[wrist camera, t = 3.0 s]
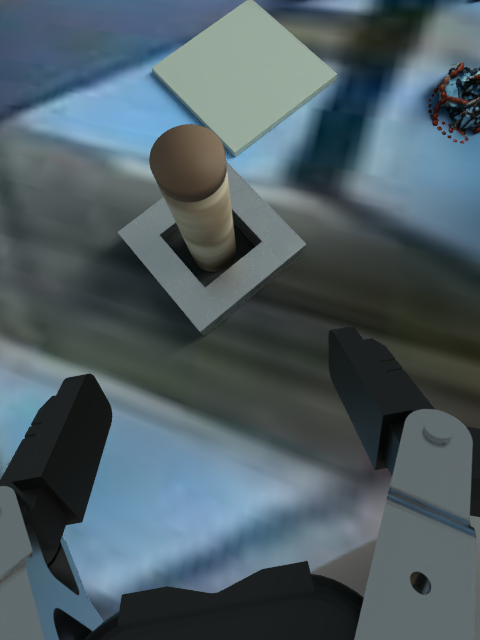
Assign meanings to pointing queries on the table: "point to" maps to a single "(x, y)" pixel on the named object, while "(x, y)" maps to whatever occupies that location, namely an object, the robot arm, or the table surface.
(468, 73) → the beaded bracelet pile
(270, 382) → the table surface
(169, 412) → the table surface
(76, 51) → the table surface
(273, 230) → the block
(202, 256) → the peg
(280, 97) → the tile
